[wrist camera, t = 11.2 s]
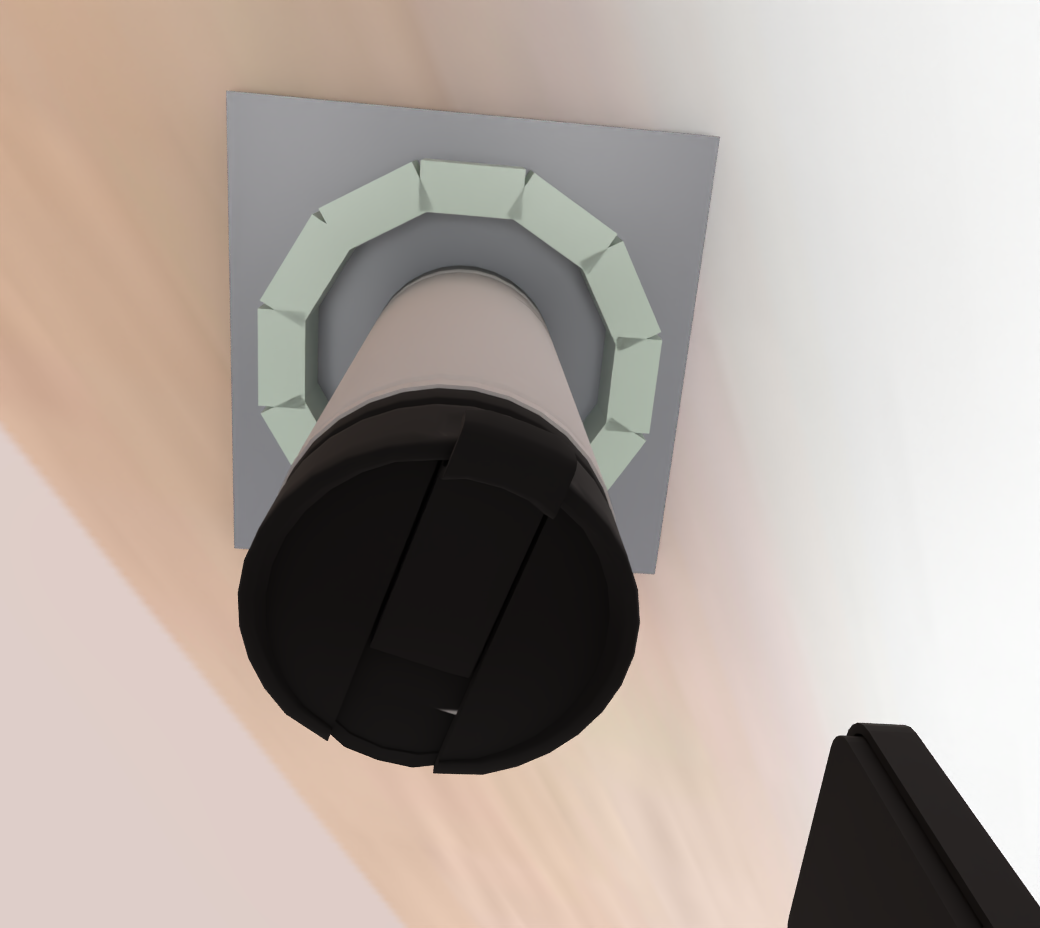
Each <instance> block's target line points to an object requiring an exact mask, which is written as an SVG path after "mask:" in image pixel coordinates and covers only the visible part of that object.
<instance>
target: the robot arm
mask: <svg viewBox="0 0 1040 928" xmlns="http://www.w3.org/2000/svg"><path fill="white" fill-rule="evenodd" d="M788 928H1040V906H1039V905H1038V903H1037V902H1036V901H1035V899H1034V898H1033V896H1032V895H1031V894H1030V892H1029V891H1028V889H1027V888H1026V887H1025V885H1024V884H1023V882H1022V881H1021V880H1020V878H1019V877H1018V875H1017V874H1016V873H1015V871H1014V870H1013V868H1012V867H1011V866H1010V864H1009V863H1008V861H1007V860H1006V858H1005V857H1004V856H1003V854H1002V853H1001V851H1000V850H999V849H998V847H997V846H996V844H995V843H994V842H993V840H992V839H991V837H990V836H989V835H988V833H987V832H986V830H985V829H984V828H983V826H982V825H981V823H980V822H979V821H978V819H977V818H976V816H975V815H974V814H973V812H972V811H971V809H970V808H969V807H968V805H967V804H966V802H965V801H964V799H963V798H962V797H961V795H960V794H959V792H958V791H957V790H956V788H955V787H954V785H953V784H952V783H951V781H950V780H949V778H948V777H947V776H946V774H945V773H944V771H943V770H942V769H941V767H940V766H939V764H938V763H937V762H936V760H935V759H934V757H933V756H932V755H931V753H930V752H929V750H928V749H927V748H926V746H925V745H924V743H923V742H922V740H921V739H920V738H919V736H918V735H917V733H916V732H915V731H914V730H913V729H912V728H911V727H909V726H906V725H894V724H873V723H856V724H853V725H852V726H851V728H850V729H849V730H848V733H847V736H841V735H840V736H837V737H836V738H835V739H834V740H833V743H832V746H831V749H830V753H829V757H828V761H827V765H826V769H825V773H824V777H823V781H822V785H821V789H820V793H819V797H818V801H817V805H816V809H815V813H814V818H813V822H812V826H811V830H810V834H809V838H808V842H807V846H806V850H805V854H804V858H803V862H802V866H801V870H800V874H799V878H798V882H797V886H796V890H795V894H794V898H793V902H792V907H791V911H790V915H789V919H788Z"/></svg>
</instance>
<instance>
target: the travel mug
mask: <svg viewBox="0 0 1040 928" xmlns="http://www.w3.org/2000/svg"><path fill="white" fill-rule="evenodd" d="M238 609H239V627H240V631H241V634H242V638H243V641H244V645H245V648H246V652H247V655H248V659H249V660H250V662H251V664H252V666H253V668H254V670H255V672H256V674H257V675H258V677H259V679H260V681H261V683H262V685H263V687H264V688H265V690H266V691H267V692H268V693H269V694H270V696H271V697H272V698H273V699H274V700H275V702H276V703H277V704H278V705H279V707H280V708H281V709H282V710H283V711H284V713H285V714H286V715H288V716H289V717H291V718H292V719H294V720H296V721H297V722H299V723H300V724H302V725H303V726H305V727H306V728H308V729H309V730H311V731H313V732H314V733H316V734H317V735H319V736H320V737H322V738H323V739H325V740H326V741H328V739H329V736H330V734H331V735H332V736H333V737H334V738H335V739H336V740H337V741H339V742H340V743H341V744H342V745H343V746H344V747H346V748H349V749H351V750H354V751H356V752H359V753H361V754H364V755H366V756H369V757H371V758H374V759H377V760H380V761H385V762H389V763H394V764H399V765H403V766H408V767H422V766H431V765H434V769H433V773H438V774H476V775H484V774H488V773H492V772H496V771H500V770H504V769H509V768H513V767H517V766H520V765H522V764H524V763H527V762H529V761H531V760H534V759H536V758H539V757H541V756H543V755H546V754H548V753H550V752H552V751H553V750H555V749H556V748H558V747H560V746H561V745H563V744H564V743H566V742H567V741H569V740H570V739H572V738H574V737H575V736H577V735H578V734H579V733H580V732H581V731H583V730H584V729H585V728H586V727H587V726H588V725H589V724H590V723H591V722H592V721H593V720H594V719H595V718H596V717H597V716H598V715H600V714H601V713H602V712H603V710H604V709H605V708H606V706H607V705H608V703H609V702H610V700H611V699H612V698H613V696H614V695H615V693H616V692H617V691H618V689H619V688H620V686H621V685H622V683H623V680H624V678H625V676H626V673H627V671H628V668H629V666H630V664H631V661H632V659H633V657H634V653H635V648H636V642H637V636H638V631H639V625H640V617H639V600H638V588H637V585H636V582H635V579H634V575H633V572H632V569H631V565H630V562H629V559H628V556H627V553H626V550H625V547H624V545H623V542H622V539H621V536H620V534H619V531H618V528H617V525H616V521H615V515H614V511H613V508H612V505H611V501H610V498H609V495H608V492H607V488H606V485H605V483H604V480H603V478H602V475H601V472H600V469H599V466H598V464H597V461H596V458H595V456H594V453H593V450H592V448H591V445H590V442H589V439H588V437H587V434H586V431H585V429H584V426H583V423H582V421H581V418H580V415H579V413H578V410H577V407H576V404H575V402H574V399H573V396H572V394H571V391H570V388H569V386H568V383H567V380H566V378H565V375H564V372H563V369H562V367H561V364H560V361H559V359H558V356H557V353H556V351H555V348H554V345H553V343H552V340H551V337H550V334H549V332H548V329H547V326H546V324H545V321H544V319H543V317H542V315H541V314H540V312H539V310H538V308H537V306H536V305H535V303H534V302H533V301H532V300H531V299H530V297H529V296H528V295H527V294H526V293H525V292H524V291H523V290H522V289H521V288H519V287H518V286H517V285H516V284H514V283H513V282H512V281H511V280H509V279H507V278H505V277H503V276H501V275H499V274H497V273H495V272H493V271H489V270H486V269H482V268H479V267H472V266H460V265H459V266H450V267H441V268H438V269H435V270H432V271H429V272H426V273H423V274H421V275H420V276H418V277H416V278H414V279H413V280H411V281H409V282H408V283H407V284H405V285H404V286H403V287H402V288H401V289H400V290H399V291H397V292H396V293H395V294H394V296H393V297H392V298H391V300H390V301H389V302H388V304H387V305H386V306H385V308H384V309H383V311H382V312H381V314H380V316H379V318H378V319H377V321H376V323H375V324H374V326H373V328H372V329H371V331H370V333H369V335H368V336H367V338H366V340H365V341H364V343H363V345H362V346H361V348H360V350H359V351H358V353H357V355H356V357H355V358H354V360H353V362H352V363H351V365H350V367H349V368H348V370H347V372H346V373H345V375H344V377H343V379H342V380H341V382H340V384H339V385H338V387H337V389H336V390H335V392H334V394H333V396H332V397H331V399H330V401H329V402H328V404H327V406H326V407H325V409H324V411H323V412H322V414H321V416H320V418H319V419H318V421H317V423H316V424H315V426H314V428H313V429H312V431H311V433H310V434H309V436H308V438H307V440H306V441H305V443H304V445H303V446H302V448H301V450H300V452H299V454H298V456H297V457H296V458H295V460H294V462H293V463H292V465H291V467H290V469H289V471H288V474H287V476H286V478H285V480H284V482H283V484H282V486H281V489H280V491H279V493H278V495H277V497H276V499H275V501H274V503H273V504H272V506H271V508H270V510H269V511H268V513H267V515H266V517H265V518H264V520H263V522H262V523H261V525H260V527H259V529H258V531H257V533H256V535H255V537H254V540H253V542H252V544H251V546H250V548H249V551H248V553H247V555H246V557H245V559H244V563H243V569H242V574H241V579H240V584H239V589H238Z"/></svg>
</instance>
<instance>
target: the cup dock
mask: <svg viewBox="0 0 1040 928" xmlns="http://www.w3.org/2000/svg"><path fill="white" fill-rule="evenodd" d="M226 103H227V159H228V215H229V271H230V327H231V383H232V439H233V495H234V548H239V549H249V548H250V546H251V544H252V542H253V540H254V537H255V535H256V533H257V531H258V529H259V527H260V525H261V523H262V522H263V520H264V518H265V517H266V515H267V513H268V511H269V510H270V508H271V506H272V504H273V503H274V501H275V499H276V497H277V495H278V493H279V491H280V489H281V486H282V484H283V482H284V480H285V478H286V476H287V474H288V471H289V469H290V467H291V465H292V463H293V462H294V460H295V458H296V457H297V456H298V454H299V452H300V450H301V448H302V446H303V445H304V443H305V441H306V440H307V438H308V436H309V434H310V433H311V431H312V429H313V428H314V426H315V424H316V423H317V421H318V419H319V418H320V416H321V414H322V412H323V411H324V409H325V407H326V406H327V404H328V402H329V401H330V399H331V397H332V396H333V394H334V392H335V390H336V389H337V387H338V385H339V384H340V382H341V380H342V379H343V377H344V375H345V373H346V372H347V370H348V368H349V367H350V365H351V363H352V362H353V360H354V358H355V357H356V355H357V353H358V351H359V350H360V348H361V346H362V345H363V343H364V341H365V340H366V338H367V336H368V335H369V333H370V331H371V329H372V328H373V326H374V324H375V323H376V321H377V319H378V318H379V316H380V314H381V312H382V311H383V309H384V308H385V306H386V305H387V304H388V302H389V301H390V300H391V298H392V297H393V296H394V294H395V293H396V292H397V291H399V290H400V289H401V288H402V287H403V286H404V285H405V284H407V283H408V282H409V281H411V280H413V279H414V278H416V277H418V276H420V275H421V274H423V273H426V272H429V271H432V270H435V269H438V268H441V267H450V266H459V265H460V266H472V267H479V268H482V269H486V270H489V271H493V272H495V273H497V274H499V275H501V276H503V277H505V278H507V279H509V280H511V281H512V282H513V283H514V284H516V285H517V286H518V287H519V288H521V289H522V290H523V291H524V292H525V293H526V294H527V295H528V296H529V297H530V299H531V300H532V301H533V302H534V303H535V305H536V306H537V308H538V310H539V312H540V314H541V315H542V317H543V319H544V321H545V324H546V326H547V329H548V332H549V334H550V337H551V340H552V343H553V345H554V348H555V351H556V353H557V356H558V359H559V361H560V364H561V367H562V369H563V372H564V375H565V378H566V380H567V383H568V386H569V388H570V391H571V394H572V396H573V399H574V402H575V404H576V407H577V410H578V413H579V415H580V418H581V421H582V423H583V426H584V429H585V431H586V434H587V437H588V439H589V442H590V445H591V448H592V450H593V453H594V456H595V458H596V461H597V464H598V466H599V469H600V472H601V475H602V478H603V480H604V483H605V485H606V488H607V492H608V495H609V498H610V501H611V505H612V508H613V511H614V515H615V521H616V525H617V528H618V531H619V534H620V536H621V539H622V542H623V545H624V547H625V550H626V553H627V556H628V559H629V562H630V565H631V569H632V572H633V573H643V574H655V568H656V561H657V554H658V548H659V541H660V534H661V528H662V521H663V514H664V508H665V501H666V494H667V487H668V481H669V474H670V467H671V461H672V454H673V447H674V441H675V434H676V427H677V421H678V414H679V407H680V400H681V394H682V387H683V380H684V374H685V367H686V360H687V354H688V347H689V340H690V333H691V327H692V320H693V313H694V307H695V300H696V293H697V287H698V280H699V273H700V266H701V260H702V253H703V246H704V240H705V233H706V226H707V220H708V213H709V206H710V200H711V193H712V186H713V179H714V173H715V166H716V159H717V153H718V146H719V139H720V137H717V136H706V135H696V134H685V133H674V132H664V131H653V130H642V129H631V128H621V127H610V126H599V125H589V124H578V123H567V122H556V121H546V120H535V119H524V118H514V117H503V116H492V115H481V114H471V113H460V112H449V111H439V110H428V109H417V108H406V107H396V106H385V105H374V104H363V103H353V102H342V101H331V100H321V99H310V98H299V97H288V96H278V95H267V94H256V93H246V92H235V91H226Z"/></svg>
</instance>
